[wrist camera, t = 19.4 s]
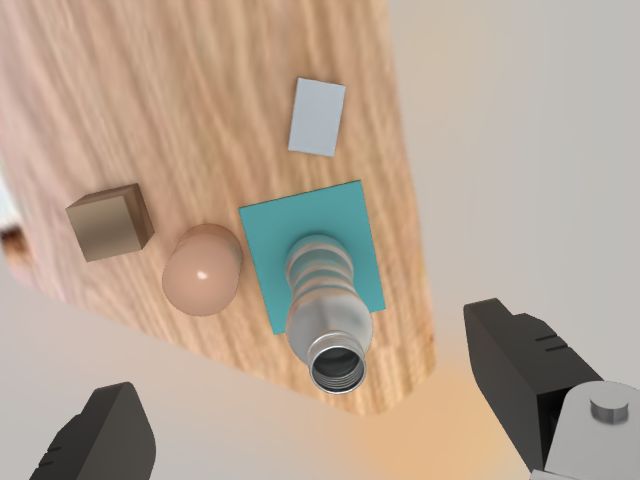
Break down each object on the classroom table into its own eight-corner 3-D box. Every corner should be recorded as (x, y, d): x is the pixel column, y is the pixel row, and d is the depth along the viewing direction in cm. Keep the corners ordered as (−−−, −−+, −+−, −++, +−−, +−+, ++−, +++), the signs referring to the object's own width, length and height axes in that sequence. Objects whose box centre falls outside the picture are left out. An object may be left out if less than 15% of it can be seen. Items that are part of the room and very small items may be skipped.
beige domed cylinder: (168, 232, 50) (151, 257, 44) (233, 217, 50) (225, 240, 44) (188, 290, 52) (175, 323, 46) (250, 276, 52) (245, 307, 46)
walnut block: (86, 194, 49) (65, 209, 44) (138, 182, 49) (122, 195, 44) (104, 243, 50) (86, 262, 46) (154, 232, 50) (141, 249, 46)
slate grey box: (297, 76, 47) (298, 77, 43) (340, 84, 47) (345, 86, 43) (287, 143, 48) (288, 149, 45) (329, 149, 49) (333, 156, 45)
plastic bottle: (322, 301, 53) (346, 430, 34) (270, 263, 52) (264, 378, 33) (363, 255, 52) (411, 363, 33) (311, 214, 50) (330, 304, 31)
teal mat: (238, 207, 50) (238, 209, 50) (360, 179, 50) (360, 180, 49) (273, 332, 55) (273, 334, 54) (385, 307, 54) (385, 309, 54)
